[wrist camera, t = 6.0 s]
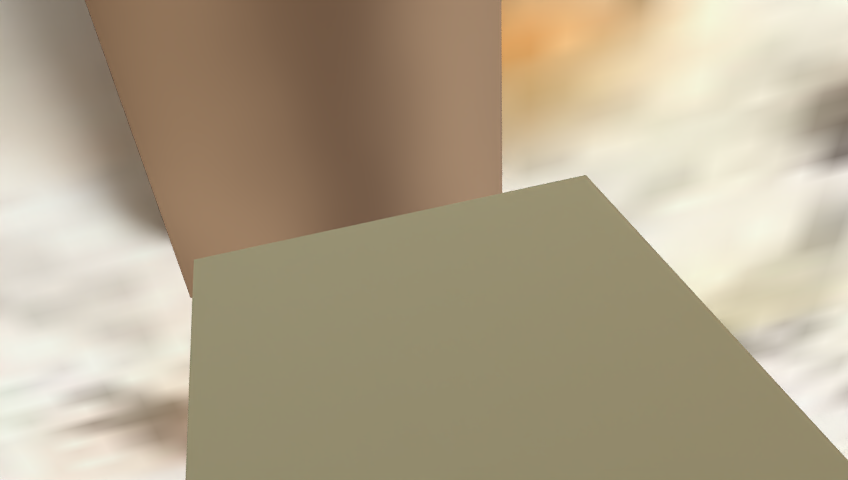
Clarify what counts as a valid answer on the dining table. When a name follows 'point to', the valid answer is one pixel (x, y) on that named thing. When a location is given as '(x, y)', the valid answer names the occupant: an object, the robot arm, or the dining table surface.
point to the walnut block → (304, 111)
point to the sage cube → (479, 356)
